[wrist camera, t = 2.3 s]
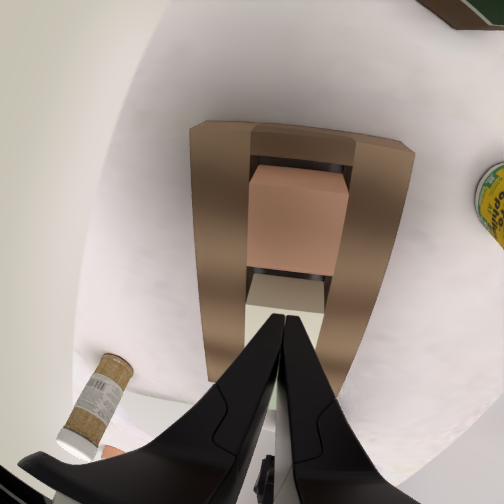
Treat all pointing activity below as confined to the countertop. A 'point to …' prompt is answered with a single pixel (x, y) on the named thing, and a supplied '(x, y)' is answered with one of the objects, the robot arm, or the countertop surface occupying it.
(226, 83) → the countertop surface
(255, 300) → the cream key
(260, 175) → the terracotta key
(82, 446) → the sprinkles bottle
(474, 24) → the beer bottle
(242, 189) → the wooden tray
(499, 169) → the supplement bottle
